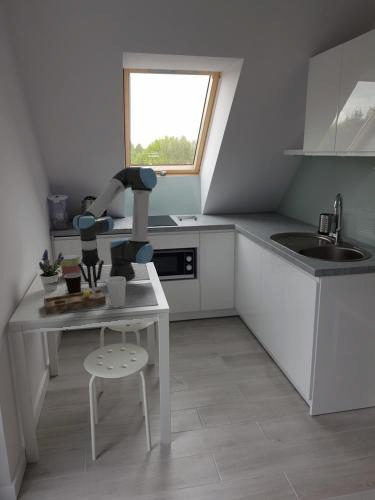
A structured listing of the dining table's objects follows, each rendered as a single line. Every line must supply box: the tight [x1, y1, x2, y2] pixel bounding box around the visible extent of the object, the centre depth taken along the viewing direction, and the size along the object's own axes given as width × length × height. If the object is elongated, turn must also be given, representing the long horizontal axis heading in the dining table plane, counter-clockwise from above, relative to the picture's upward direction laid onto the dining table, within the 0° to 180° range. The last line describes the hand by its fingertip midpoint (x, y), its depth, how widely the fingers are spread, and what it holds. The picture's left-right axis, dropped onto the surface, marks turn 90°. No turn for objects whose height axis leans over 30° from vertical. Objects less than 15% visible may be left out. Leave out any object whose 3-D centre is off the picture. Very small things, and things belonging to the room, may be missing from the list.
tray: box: [43, 288, 107, 315], centre depth 192 cm, size 28×12×4 cm, turn 114°
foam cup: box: [105, 276, 127, 308], centre depth 189 cm, size 10×9×13 cm
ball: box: [83, 290, 90, 298], centre depth 193 cm, size 4×4×4 cm
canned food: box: [60, 253, 82, 279], centre depth 236 cm, size 11×11×12 cm
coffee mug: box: [64, 273, 82, 295], centre depth 208 cm, size 12×9×10 cm
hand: (93, 293), depth 195 cm, fingers closed
